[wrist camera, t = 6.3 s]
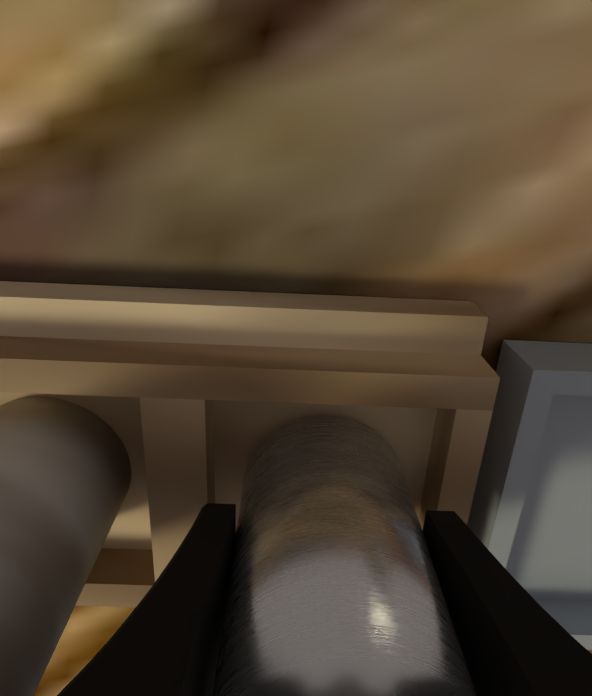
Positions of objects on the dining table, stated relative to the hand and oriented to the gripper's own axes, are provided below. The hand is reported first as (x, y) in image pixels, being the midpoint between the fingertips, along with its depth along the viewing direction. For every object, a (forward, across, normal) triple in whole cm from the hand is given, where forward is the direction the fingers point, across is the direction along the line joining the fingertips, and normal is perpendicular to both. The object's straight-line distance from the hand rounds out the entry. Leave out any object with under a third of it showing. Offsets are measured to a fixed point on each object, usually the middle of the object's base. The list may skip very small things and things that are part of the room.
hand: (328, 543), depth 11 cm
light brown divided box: (+4, +4, 0) cm, 5 cm away
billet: (+2, 0, 0) cm, 2 cm away
